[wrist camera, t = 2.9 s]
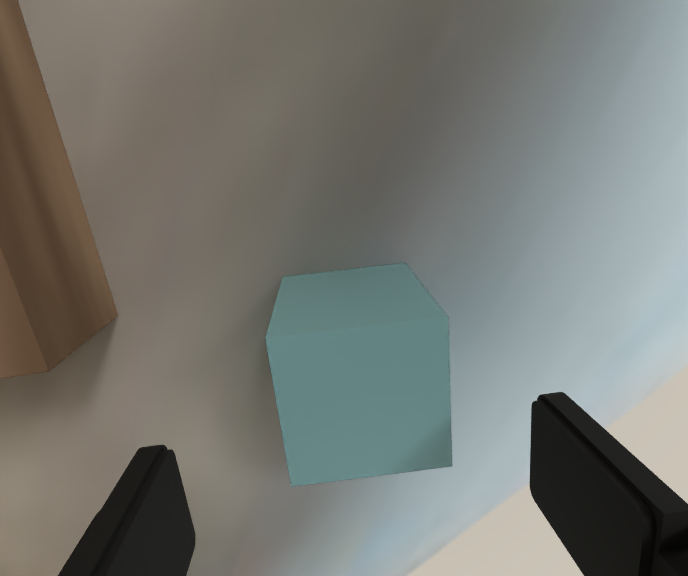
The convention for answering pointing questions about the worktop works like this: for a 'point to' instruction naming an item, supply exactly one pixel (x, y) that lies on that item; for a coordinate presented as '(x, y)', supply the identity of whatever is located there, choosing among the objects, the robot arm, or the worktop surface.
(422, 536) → the worktop surface
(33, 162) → the walnut riser block
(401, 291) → the teal block
